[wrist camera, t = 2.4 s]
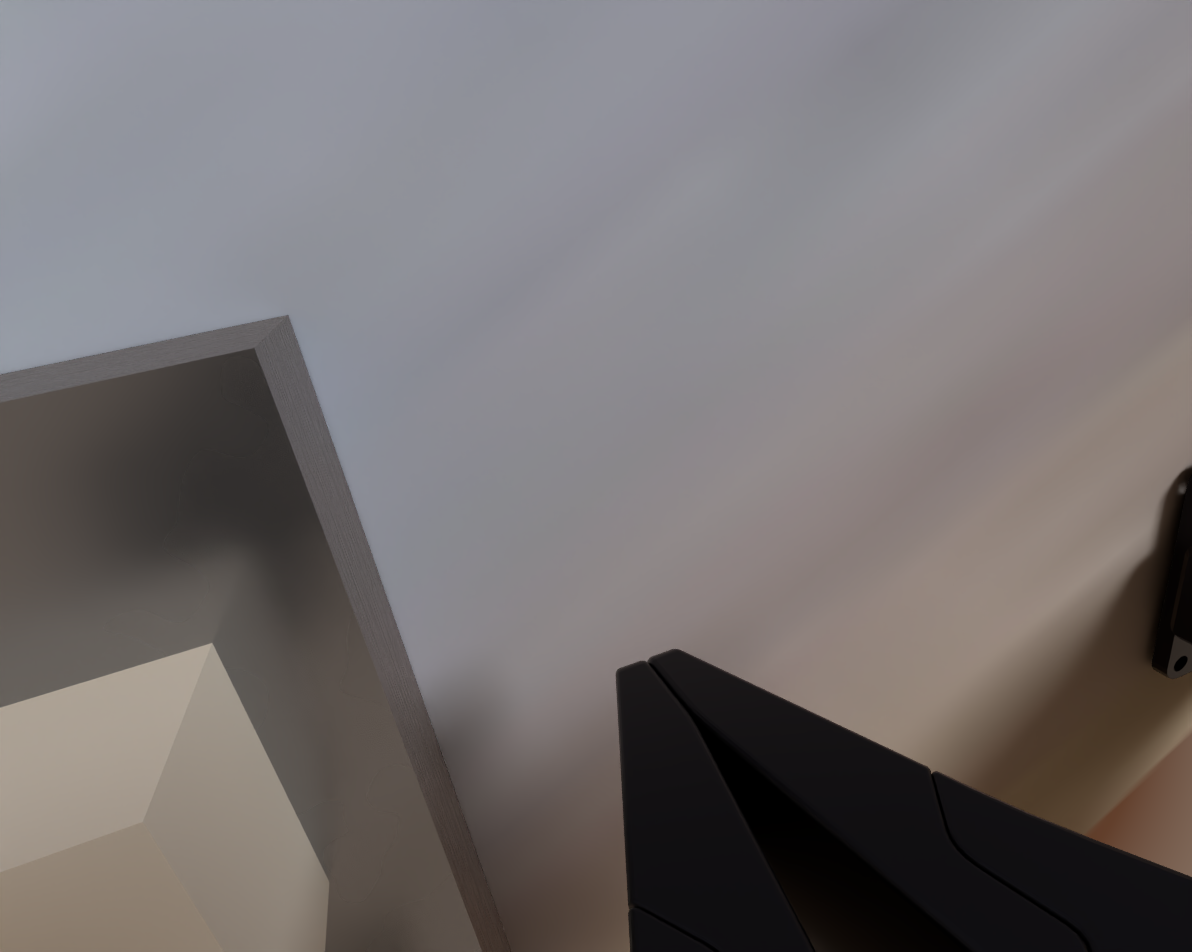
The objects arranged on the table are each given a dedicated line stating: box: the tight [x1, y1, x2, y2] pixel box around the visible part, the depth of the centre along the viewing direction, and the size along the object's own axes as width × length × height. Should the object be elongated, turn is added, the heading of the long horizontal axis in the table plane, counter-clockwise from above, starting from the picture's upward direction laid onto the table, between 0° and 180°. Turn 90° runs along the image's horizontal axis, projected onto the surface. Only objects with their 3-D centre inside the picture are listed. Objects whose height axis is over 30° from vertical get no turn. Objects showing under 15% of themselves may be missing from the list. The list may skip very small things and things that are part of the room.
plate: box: [0, 315, 511, 952], centre depth 10 cm, size 8×18×3 cm, turn 11°
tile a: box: [0, 643, 329, 952], centre depth 7 cm, size 4×4×2 cm
